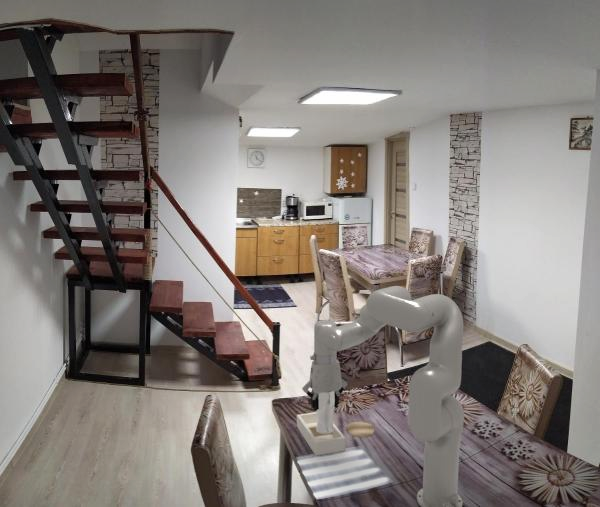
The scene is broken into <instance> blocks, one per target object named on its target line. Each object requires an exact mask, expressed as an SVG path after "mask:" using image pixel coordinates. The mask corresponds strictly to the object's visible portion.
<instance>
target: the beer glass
mask: <svg viewBox="0 0 600 507" xmlns="http://www.w3.org/2000/svg"><path fill="white" fill-rule="evenodd" d="M316 399H317V411H315V412H316V414H317V426H316V431H317V432H319V433H321V434H329V433H332V432H333V431H334V427H333V423H334V421H333V420H334V415H335V414H334V413H335V409H336V408H335V391H330V392H323V393H318V395H317V397H316Z"/></svg>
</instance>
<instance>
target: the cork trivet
mask: <svg viewBox="0 0 600 507" xmlns="http://www.w3.org/2000/svg"><path fill="white" fill-rule="evenodd" d="M346 432H347V433H348V434H349V435H350V436H353V437H358V438H365V437H366V438H367V437H370V436H372V435H373V434H374V433H375V427H374V425H373V424H371V423H370V422H365V421H353V422H350V423H348V424H347V425H346Z"/></svg>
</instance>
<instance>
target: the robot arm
mask: <svg viewBox="0 0 600 507" xmlns="http://www.w3.org/2000/svg"><path fill="white" fill-rule="evenodd" d="M386 325H387V326H390V327H393V328H397V329H398V330H402V331H405V332H409V333H419V332H423V331H425V330H428V329H430V328H433V327H434V328H433V329H434V330H433V333H432V335H431V338H430V342H429V343H430V344H429V358H428V363H427V364H426V365H424V366H422V367H421V368H418V369H417V370H416V371H415V372H414V373H413V375H412V376H411V378H410V381H409V387H408V415H407V416H408V417H407V418H408V427H409V429H410V432H411V434H412V436H413V437H414V438H415V439H416V440H417V441H418V442H420V443H423V444H424V448H423V449H424V450H423V471H422V472H423V474H422V477H423V478H422V488H420V489H419V491H418V492H417V493H416V502H417V503H418V505H419V506H420V507H463V503H464V502H463V499H462V497H461V496H460V495H459V494H458V485H459V484H458V483H459V469H460V468H459V464H460V449H461V446H460V445H461V438H462V437H461V436H462V432H463V427H464V422H465V411H464V407H463V405H462V403H461V402H460V401H459V399H457V398H456V397H454V396H452V395H453V394H455V392H457V391H458V390H459V389H460V386H461V382H462V368H463V367H462V362H463V338H464V318H463V314H462V311H461V309H460V307H459V306H458V305H457V303H456V302H455V300H453V299H451V298H450V297H449V296H447V295H444V294H440V293H439V294H438V293H434V294H433V293H432V294H428V295H425V296H422V297H419V298H415V299H412V295H411V292H410V291H409V290H408V289H407V288H405V287H404V286H400V285H393V286H388V287H385V288H384V287H383V288H380V289H377V290H374V291H373V292H371V294H369V295H368V297H367V299H366V302H365V304H364V305H363V306H361V308H360V310H359V317H358V318H357V319H355V320H354V321H352V322H348V323H345V324H342V325H338V326H337V324H336V322H334V321H332V320H330V319H329V320H328V319H325V320H324V319H323V320H319V321H317V322H315V324H314V325H313V326H314V329H313V333H314V334H313V335H314V336H313V337H314V338H313V340H314V341H313V345H314V346H313V347H314V348H313V354H311V355H310V357H309V358H310V359H309V360H310V361H312V362H311V367H310V372H309V373H310V374H309V380H308V382H307V383H305V385H303V386H302V388H301V389H302V391H303V392H304V393H305V395H307V396H308V397H309V398H310V406H311V408H312V410H314V412H316V411H317V399H316V397H317V395H318V393H323V392H330V391H335V409H337V408H339V402H340V397H341V394H342V393H343V391H344V390H345V388H346V387H347V386H348V385H349V384H348V382H347V381H346V380H344V379H343V378H342V370H341V365H340V361H339V360H338V359H337V358H338V357H337V352H342V351H345V350H347V349H349V348H353V347H355V346H358V345H360V344H362V343H364V342H365V341H367V340H369V339H370V338H372V337H373V336H375V335H376V334H377V333H379V331H380V330H381V329H382V328H383V327H385V326H386ZM309 389H311V391H310V390H309Z"/></svg>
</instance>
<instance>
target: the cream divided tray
mask: <svg viewBox="0 0 600 507" xmlns="http://www.w3.org/2000/svg"><path fill="white" fill-rule="evenodd" d="M316 426H317V414H316V411H314V412H308V413H301V414H296V428H297V429H298V431H299V432H300V434H301V435H302V437H303V439H304V440H305V441H306V443H307V444H308V447H309V448H310V449H311V451H312V453H313V454H314V455H315V456H323V455H328V454H334V453H339V452H346V436H345V435H344V434H343V433H342V432H341V431H340V429H339V428H338V427H337V425H336V424H335V423H334V422H333V427H334V431H333V432H332V433H329V434H321V433H319V432H317V431H316Z"/></svg>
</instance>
